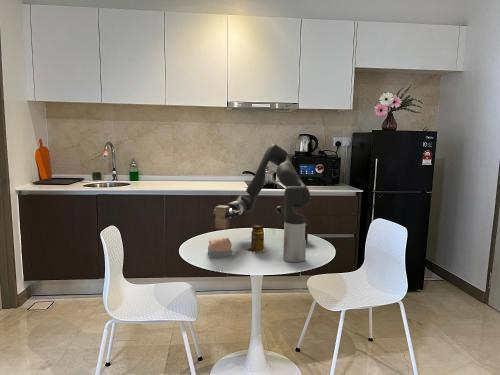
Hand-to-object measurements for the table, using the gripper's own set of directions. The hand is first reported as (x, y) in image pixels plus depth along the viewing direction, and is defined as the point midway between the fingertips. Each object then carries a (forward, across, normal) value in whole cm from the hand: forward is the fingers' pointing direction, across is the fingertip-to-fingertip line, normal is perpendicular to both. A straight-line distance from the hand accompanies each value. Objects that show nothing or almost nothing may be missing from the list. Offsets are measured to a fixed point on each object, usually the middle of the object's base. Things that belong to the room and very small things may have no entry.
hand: (220, 215), depth 176 cm
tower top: (+1, +1, +15) cm, 15 cm away
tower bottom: (+1, 0, +18) cm, 18 cm away
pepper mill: (-35, +26, +18) cm, 47 cm away
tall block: (-3, 0, +6) cm, 7 cm away
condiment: (-12, +14, +18) cm, 26 cm away
